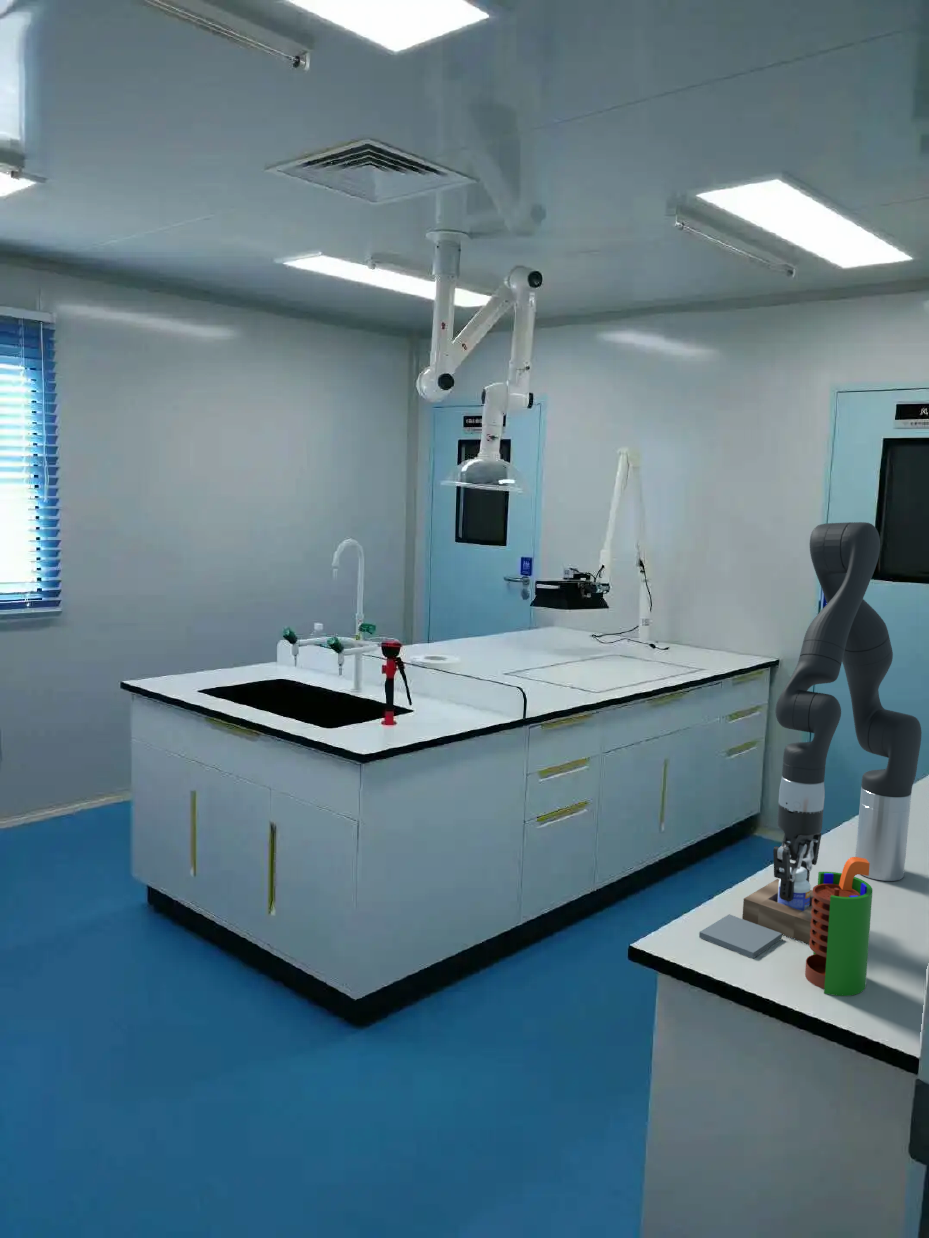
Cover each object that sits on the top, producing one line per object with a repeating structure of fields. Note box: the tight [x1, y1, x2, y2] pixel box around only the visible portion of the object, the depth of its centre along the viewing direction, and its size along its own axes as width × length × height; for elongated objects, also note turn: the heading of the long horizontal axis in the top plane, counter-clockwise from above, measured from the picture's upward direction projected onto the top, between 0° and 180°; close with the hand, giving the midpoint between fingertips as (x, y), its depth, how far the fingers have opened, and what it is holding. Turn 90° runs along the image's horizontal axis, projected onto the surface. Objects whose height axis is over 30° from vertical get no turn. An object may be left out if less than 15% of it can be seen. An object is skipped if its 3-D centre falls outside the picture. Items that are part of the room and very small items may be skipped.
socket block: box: [741, 878, 814, 945], centre depth 172 cm, size 13×13×4 cm
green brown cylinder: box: [804, 856, 874, 997], centre depth 150 cm, size 10×9×20 cm
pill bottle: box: [778, 867, 811, 911], centre depth 171 cm, size 5×5×10 cm
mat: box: [698, 913, 783, 959], centre depth 165 cm, size 10×10×1 cm
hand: (793, 894), depth 171 cm, fingers closed on pill bottle, 5 cm apart
